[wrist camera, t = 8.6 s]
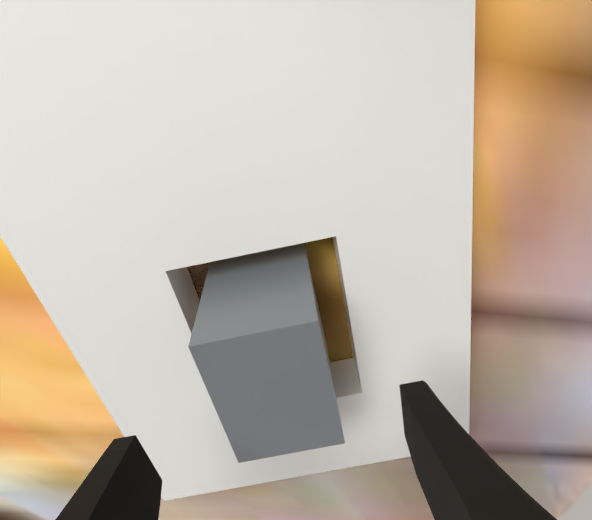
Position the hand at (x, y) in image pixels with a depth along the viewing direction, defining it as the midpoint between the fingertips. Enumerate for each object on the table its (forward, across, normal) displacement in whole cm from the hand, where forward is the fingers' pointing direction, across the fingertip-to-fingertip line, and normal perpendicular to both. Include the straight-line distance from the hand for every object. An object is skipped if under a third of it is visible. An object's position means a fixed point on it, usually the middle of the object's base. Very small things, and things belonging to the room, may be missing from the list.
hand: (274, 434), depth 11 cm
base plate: (+6, 0, -2) cm, 6 cm away
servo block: (+6, 0, 0) cm, 6 cm away
